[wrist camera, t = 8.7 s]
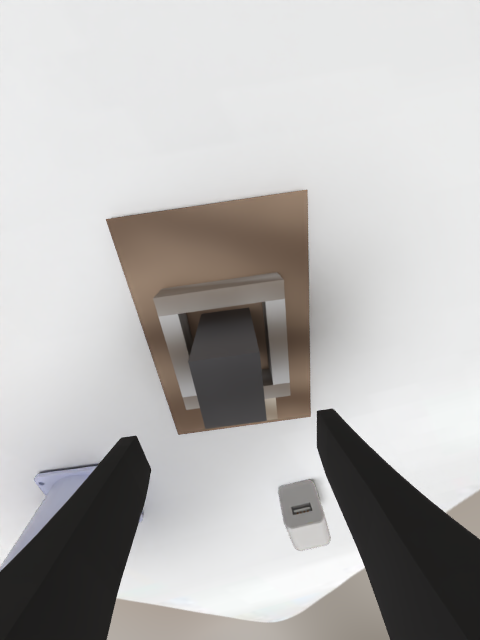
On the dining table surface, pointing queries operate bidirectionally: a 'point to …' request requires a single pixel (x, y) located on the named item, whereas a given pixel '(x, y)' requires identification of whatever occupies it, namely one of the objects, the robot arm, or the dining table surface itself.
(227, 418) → the plug
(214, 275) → the socket dock
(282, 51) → the dining table surface
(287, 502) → the usb wall charger
